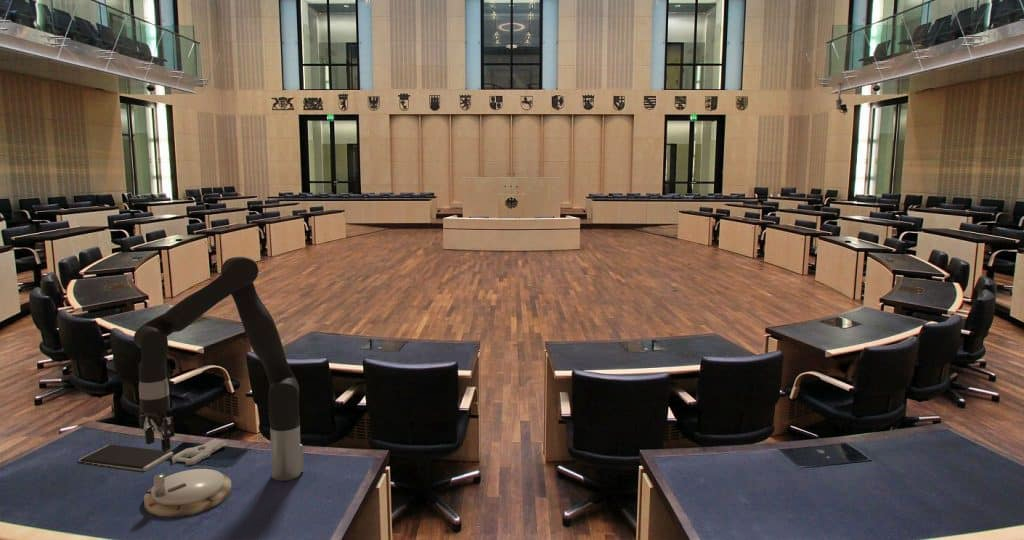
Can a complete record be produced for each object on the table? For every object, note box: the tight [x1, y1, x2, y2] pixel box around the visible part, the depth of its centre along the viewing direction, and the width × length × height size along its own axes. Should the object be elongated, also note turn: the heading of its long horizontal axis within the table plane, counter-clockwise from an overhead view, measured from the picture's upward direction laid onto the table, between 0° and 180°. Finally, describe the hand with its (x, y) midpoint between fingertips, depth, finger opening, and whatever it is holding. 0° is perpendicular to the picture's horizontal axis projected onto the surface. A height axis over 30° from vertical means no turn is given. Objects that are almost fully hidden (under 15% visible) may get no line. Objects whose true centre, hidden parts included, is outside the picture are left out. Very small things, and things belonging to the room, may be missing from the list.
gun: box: [171, 438, 228, 466], centre depth 222 cm, size 18×4×10 cm
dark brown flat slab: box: [78, 444, 174, 472], centre depth 218 cm, size 13×27×2 cm, turn 78°
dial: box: [151, 468, 224, 506], centre depth 193 cm, size 20×20×8 cm
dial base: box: [143, 473, 232, 518], centre depth 194 cm, size 24×24×2 cm
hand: (158, 446), depth 184 cm, fingers open, 8 cm apart
